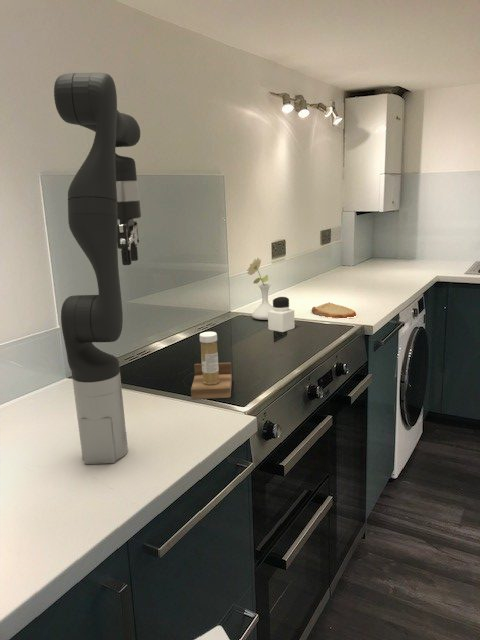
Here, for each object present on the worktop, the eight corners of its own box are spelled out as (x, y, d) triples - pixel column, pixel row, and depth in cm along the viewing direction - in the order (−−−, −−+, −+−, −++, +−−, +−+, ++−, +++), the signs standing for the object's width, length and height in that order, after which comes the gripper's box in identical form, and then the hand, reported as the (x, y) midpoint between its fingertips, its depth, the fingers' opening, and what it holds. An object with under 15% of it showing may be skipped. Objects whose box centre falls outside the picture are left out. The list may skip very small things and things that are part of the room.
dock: (230, 397, 138) (229, 377, 137) (191, 399, 139) (190, 378, 137) (231, 381, 150) (230, 362, 149) (195, 382, 150) (194, 363, 149)
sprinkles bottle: (202, 380, 144) (199, 331, 141) (219, 379, 145) (216, 330, 142) (202, 386, 140) (199, 336, 137) (220, 384, 140) (217, 335, 137)
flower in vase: (268, 313, 227) (266, 254, 221) (285, 318, 218) (283, 256, 212) (242, 319, 220) (240, 257, 214) (259, 324, 211) (256, 260, 205)
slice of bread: (358, 319, 213) (358, 310, 212) (311, 320, 215) (311, 310, 214) (354, 309, 230) (354, 300, 229) (311, 309, 232) (311, 301, 231)
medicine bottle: (295, 328, 202) (294, 296, 199) (283, 332, 197) (282, 300, 194) (280, 325, 207) (279, 294, 204) (268, 329, 202) (266, 298, 199)
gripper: (133, 199, 132) (139, 266, 136) (144, 198, 145) (149, 258, 149) (102, 201, 132) (109, 267, 136) (116, 199, 146) (122, 259, 150)
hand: (130, 262), depth 143 cm, fingers open, 8 cm apart
